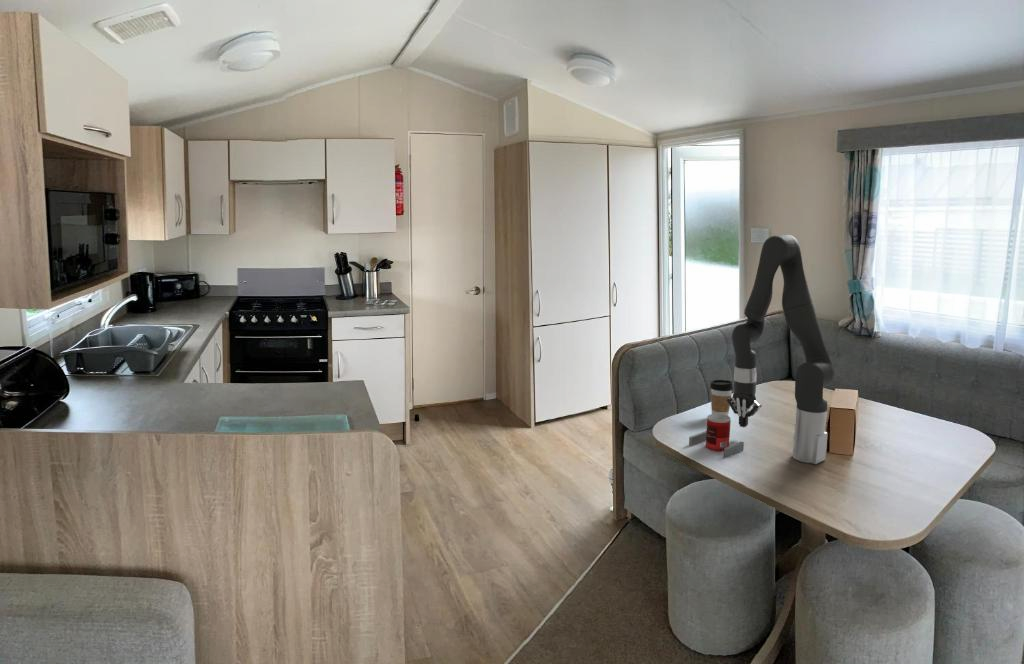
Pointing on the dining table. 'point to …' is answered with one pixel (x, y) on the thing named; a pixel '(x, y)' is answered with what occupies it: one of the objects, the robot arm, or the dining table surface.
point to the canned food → (717, 432)
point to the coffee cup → (720, 396)
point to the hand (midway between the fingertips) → (743, 426)
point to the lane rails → (727, 451)
